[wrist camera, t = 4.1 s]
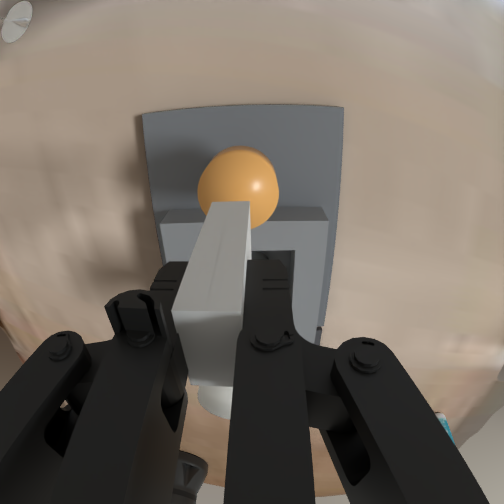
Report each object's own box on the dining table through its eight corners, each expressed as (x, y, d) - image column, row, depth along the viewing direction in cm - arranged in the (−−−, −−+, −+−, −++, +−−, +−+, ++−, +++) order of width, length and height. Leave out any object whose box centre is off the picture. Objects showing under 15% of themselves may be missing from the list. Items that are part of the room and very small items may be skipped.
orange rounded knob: (208, 213, 22) (201, 231, 19) (203, 147, 19) (194, 155, 17) (276, 212, 22) (278, 230, 19) (275, 145, 19) (279, 153, 17)
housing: (178, 320, 33) (170, 346, 30) (146, 113, 23) (127, 117, 19) (322, 320, 33) (328, 345, 29) (340, 107, 22) (355, 109, 19)
